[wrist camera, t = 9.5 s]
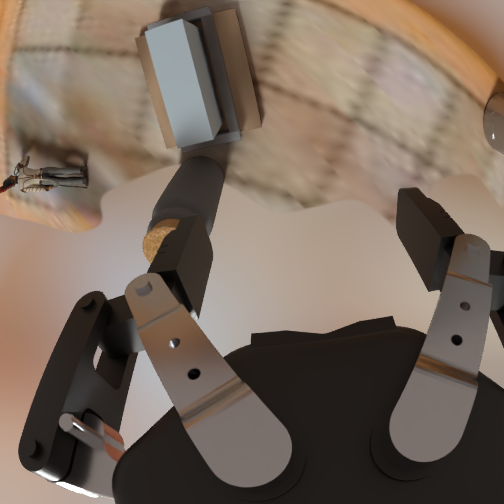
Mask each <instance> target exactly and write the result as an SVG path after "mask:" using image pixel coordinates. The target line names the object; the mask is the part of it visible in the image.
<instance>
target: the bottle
mask: <svg viewBox="0 0 504 504" xmlns="http://www.w3.org/2000/svg"><path fill="white" fill-rule="evenodd" d="M223 182H224V177H223V172H222V170H221V168H220V167H219V165H218V164H217V163H216V162H214V161H213V160H211V159H209V158H206V157H193V158H190V159H188V160H186V161H185V162H184V163H183V164H182V165H181V166H180V168H179V169H178V170H177V172H176V173H175V175H174V177H173V178H172V180H171V181H170V183H169V184H168V186H167V187H166V189H165V191H164V192H163V194H162V195H161V197H160V198H159V200H158V202H157V204H156V206H155V208H154V210H153V214H152V220H151V222H150V224H149V226H148V230H147V234H146V236H145V237H144V240H143V252H144V254H145V257H146V258H147V260H148V261H149V262H150V263H152V261H153V259H154V257H155V255H156V254H157V251H158V249H159V247H160V245H161V243H162V241H163V239H164V237H165V236H166V235H167V234H168V233H169V232H171V231H172V230H176V228H177V225H178V223H179V221H180V219H181V217H183V216H188V215H194V214H201V215H202V217H203V220H204V223H205V226H206V230H207V233H208V236H209V235H210V233H211V231H212V228H213V224H214V220H215V216H216V212H217V208H218V204H219V200H220V196H221V192H222V188H223Z"/></svg>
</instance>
